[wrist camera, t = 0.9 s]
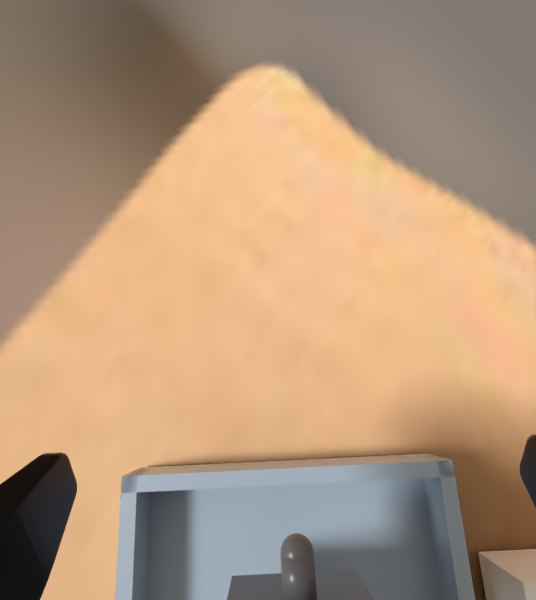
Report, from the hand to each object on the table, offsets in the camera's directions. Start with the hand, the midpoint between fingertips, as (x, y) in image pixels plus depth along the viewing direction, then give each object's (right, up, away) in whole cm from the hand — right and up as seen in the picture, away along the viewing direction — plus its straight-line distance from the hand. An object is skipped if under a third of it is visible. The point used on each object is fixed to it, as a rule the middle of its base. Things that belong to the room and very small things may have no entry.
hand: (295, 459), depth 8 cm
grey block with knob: (+1, -9, +8) cm, 12 cm away
